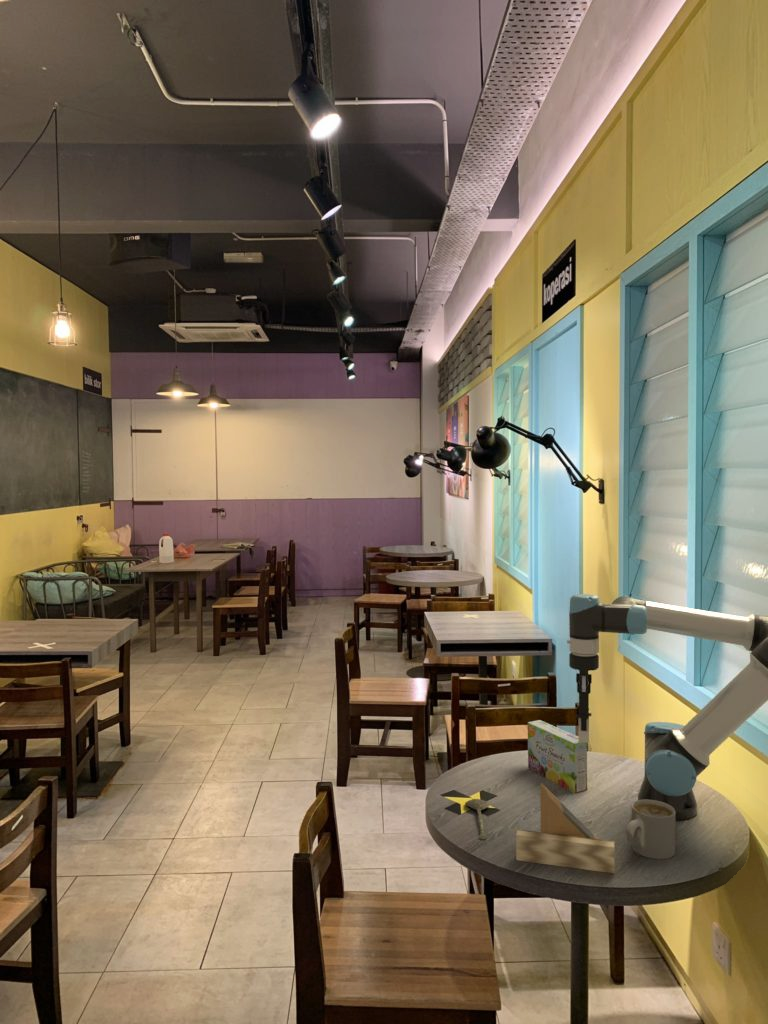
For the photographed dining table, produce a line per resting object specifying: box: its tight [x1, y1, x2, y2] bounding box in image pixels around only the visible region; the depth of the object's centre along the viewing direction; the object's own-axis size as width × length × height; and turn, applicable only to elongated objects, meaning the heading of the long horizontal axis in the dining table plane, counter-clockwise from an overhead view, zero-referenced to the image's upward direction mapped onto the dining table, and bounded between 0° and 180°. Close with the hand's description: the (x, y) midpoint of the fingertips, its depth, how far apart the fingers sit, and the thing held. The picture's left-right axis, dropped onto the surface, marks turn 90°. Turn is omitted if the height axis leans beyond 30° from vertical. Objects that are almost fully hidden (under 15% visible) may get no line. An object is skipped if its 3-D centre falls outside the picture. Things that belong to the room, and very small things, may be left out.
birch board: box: [515, 828, 616, 874], centre depth 167 cm, size 22×3×6 cm, turn 74°
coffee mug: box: [625, 799, 676, 860], centre depth 174 cm, size 13×10×10 cm
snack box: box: [527, 719, 588, 794], centre depth 217 cm, size 21×6×15 cm, turn 28°
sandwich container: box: [539, 783, 599, 839], centre depth 174 cm, size 9×15×15 cm, turn 91°
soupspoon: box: [464, 798, 490, 840], centre depth 190 cm, size 22×3×7 cm
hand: (583, 741), depth 191 cm, fingers closed
